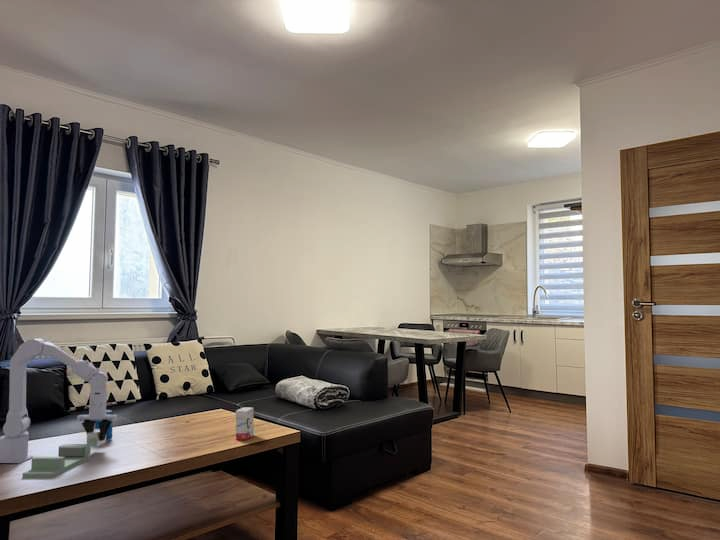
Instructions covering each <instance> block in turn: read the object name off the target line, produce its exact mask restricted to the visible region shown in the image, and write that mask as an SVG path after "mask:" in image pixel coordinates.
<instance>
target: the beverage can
mask: <svg viewBox="0 0 720 540" xmlns="http://www.w3.org/2000/svg"><path fill="white" fill-rule="evenodd" d="M112 411H113V410H111V409H106V414H110V415H114V413H113V412H112ZM99 422H102V421H95V425H94V430H95V429H100V427H99ZM113 422H114V421H112V423H111V424H110V426H109V428H108V430H107V433H106V442H105V443H107V442H109V441H111V440H112V439H113Z"/></svg>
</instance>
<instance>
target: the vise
mask: <svg viewBox="0 0 720 540" xmlns="http://www.w3.org/2000/svg"><path fill="white" fill-rule="evenodd" d="M89 460H90V454H89V455H87V456H33V457H32V458H31V468H30V469H29V470H27V471H24V472H23V473H22V474H21V475H22V479H54V478H56V477H58V476H59V475H61V474H63V473H65V472H67V471H69V470H71V469H72V468H75V467H78V465H80V464H83V463H85V462H86V461H89Z"/></svg>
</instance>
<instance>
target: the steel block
mask: <svg viewBox="0 0 720 540" xmlns="http://www.w3.org/2000/svg"><path fill="white" fill-rule="evenodd" d="M106 443H107V442H106V436H105V439H104V440H102V441H100V429H95V428H94V430H93V431H90V432H88V433H86V444H91V447H94V448H95V447H99V446H101V445H103V444H106Z"/></svg>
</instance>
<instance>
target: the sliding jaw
mask: <svg viewBox="0 0 720 540" xmlns="http://www.w3.org/2000/svg"><path fill="white" fill-rule="evenodd" d="M91 448H92V446H91V444H87V443H78V444H77V443H69V444H68V443H64V444H61V445H59V446H58V452H57V453H58V456H57V457H59V456H87V455H89V456H90V455H91Z"/></svg>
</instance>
